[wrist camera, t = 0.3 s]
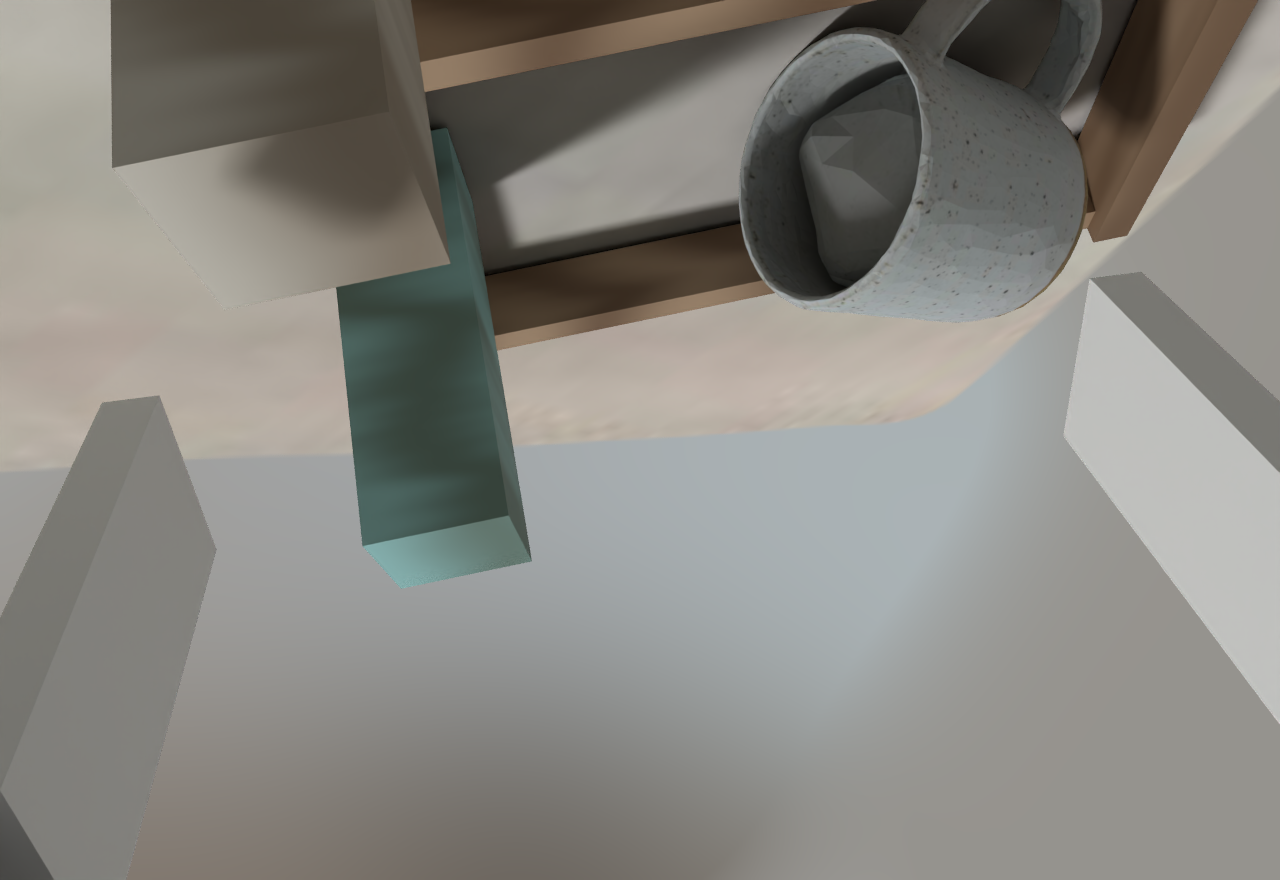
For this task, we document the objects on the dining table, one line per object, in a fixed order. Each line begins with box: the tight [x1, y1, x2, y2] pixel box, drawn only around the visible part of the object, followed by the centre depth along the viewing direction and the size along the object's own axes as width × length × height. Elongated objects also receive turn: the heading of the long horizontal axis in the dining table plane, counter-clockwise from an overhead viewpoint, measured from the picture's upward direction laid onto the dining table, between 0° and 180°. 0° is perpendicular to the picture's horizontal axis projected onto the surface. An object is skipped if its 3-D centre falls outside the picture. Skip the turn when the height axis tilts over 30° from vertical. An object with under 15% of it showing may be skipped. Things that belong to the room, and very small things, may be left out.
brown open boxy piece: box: [336, 0, 1258, 589], centre depth 32 cm, size 25×14×12 cm, turn 94°
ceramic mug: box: [739, 0, 1102, 322], centre depth 33 cm, size 11×8×8 cm
